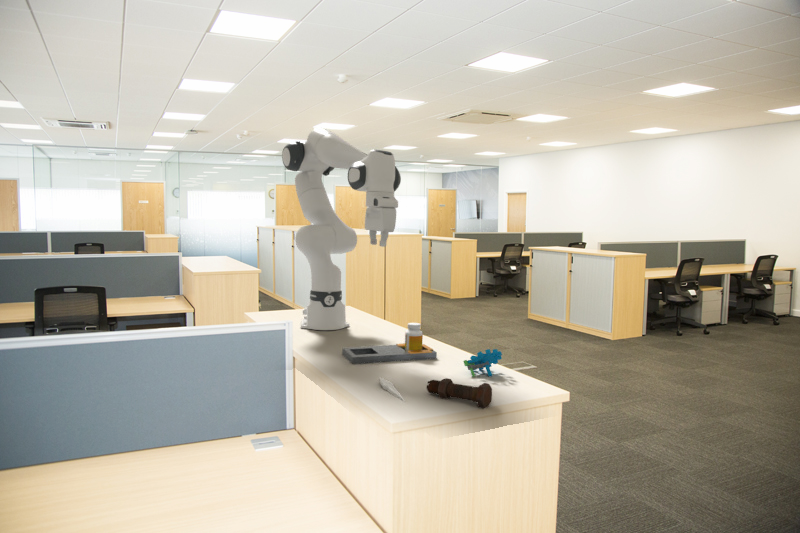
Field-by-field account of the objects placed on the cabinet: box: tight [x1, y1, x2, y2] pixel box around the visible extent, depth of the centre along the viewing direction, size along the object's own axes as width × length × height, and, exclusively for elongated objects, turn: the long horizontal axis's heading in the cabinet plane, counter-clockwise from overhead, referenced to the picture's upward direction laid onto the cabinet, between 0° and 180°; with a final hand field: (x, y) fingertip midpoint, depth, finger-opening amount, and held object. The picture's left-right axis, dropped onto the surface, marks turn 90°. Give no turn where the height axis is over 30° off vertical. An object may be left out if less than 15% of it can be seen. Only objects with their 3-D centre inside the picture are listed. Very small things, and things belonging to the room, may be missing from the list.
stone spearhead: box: [378, 376, 406, 402], centre depth 124 cm, size 15×3×2 cm, turn 24°
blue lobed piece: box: [463, 348, 503, 378], centre depth 140 cm, size 11×6×10 cm
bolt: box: [426, 377, 493, 409], centre depth 119 cm, size 6×5×15 cm
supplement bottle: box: [404, 322, 424, 351], centre depth 159 cm, size 5×5×10 cm
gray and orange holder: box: [341, 342, 438, 365], centre depth 157 cm, size 12×26×2 cm, turn 110°
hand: (378, 245), depth 165 cm, fingers open, 8 cm apart
